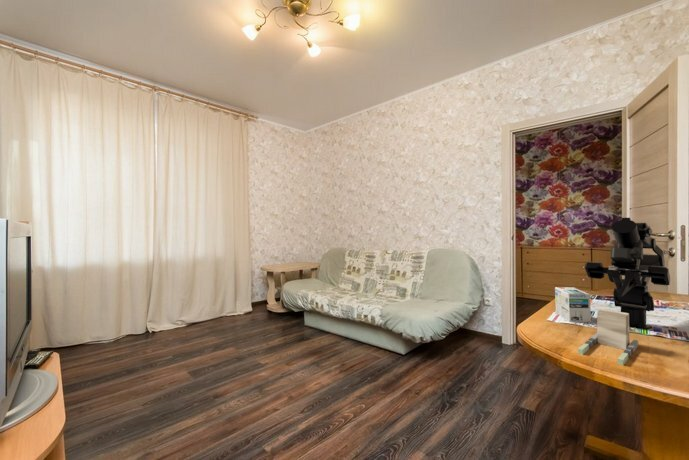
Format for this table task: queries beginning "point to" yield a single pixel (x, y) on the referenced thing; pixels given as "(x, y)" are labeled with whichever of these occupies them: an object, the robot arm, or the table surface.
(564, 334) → the table surface
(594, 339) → the channel
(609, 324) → the cream block
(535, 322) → the table surface
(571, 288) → the light bulb box
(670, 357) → the table surface
